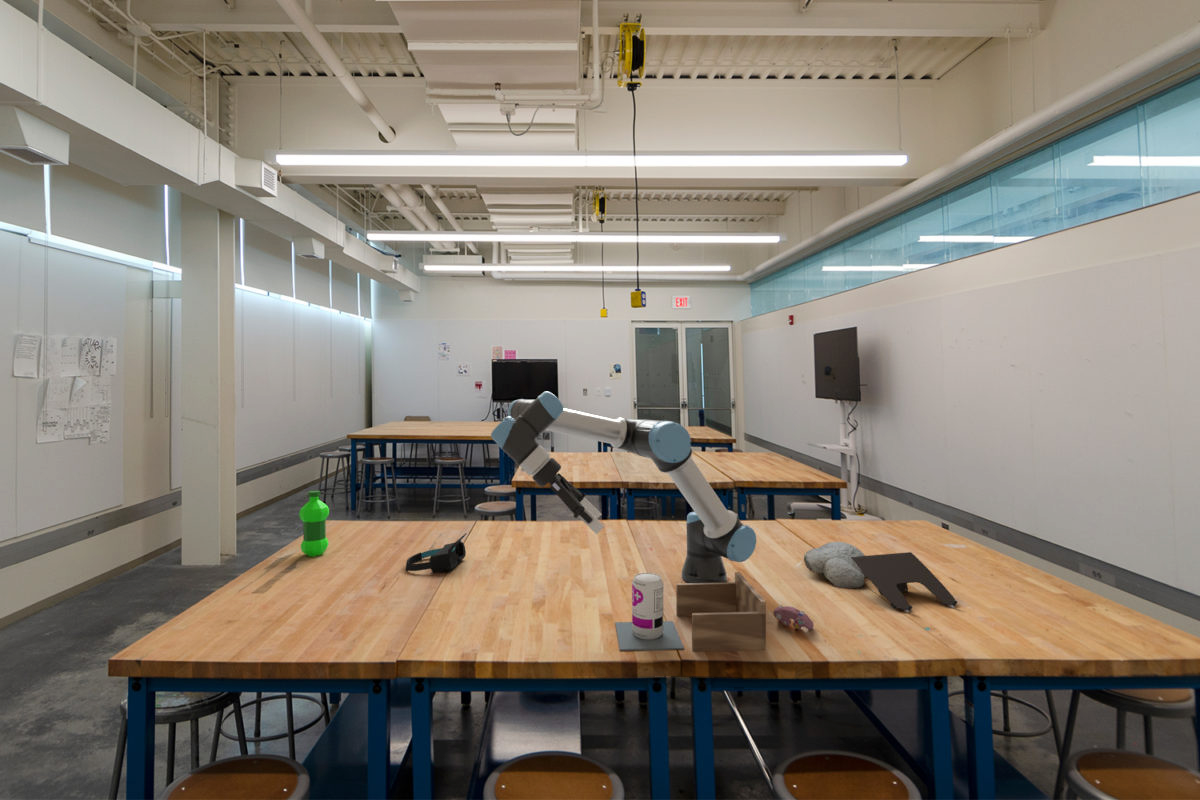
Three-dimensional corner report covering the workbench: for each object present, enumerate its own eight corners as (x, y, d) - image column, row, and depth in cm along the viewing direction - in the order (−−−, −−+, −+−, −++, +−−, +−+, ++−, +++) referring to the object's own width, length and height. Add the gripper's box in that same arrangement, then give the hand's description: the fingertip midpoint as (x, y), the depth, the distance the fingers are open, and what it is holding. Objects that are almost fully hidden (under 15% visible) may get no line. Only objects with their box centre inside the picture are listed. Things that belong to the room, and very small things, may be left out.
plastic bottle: (293, 557, 215) (293, 493, 214) (315, 549, 225) (314, 488, 225) (314, 559, 212) (313, 494, 212) (335, 551, 222) (334, 489, 222)
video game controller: (774, 628, 153) (769, 609, 151) (781, 616, 156) (776, 597, 154) (809, 639, 146) (804, 619, 144) (816, 626, 149) (811, 606, 147)
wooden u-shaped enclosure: (676, 614, 159) (676, 573, 158) (739, 613, 159) (739, 571, 159) (693, 651, 136) (693, 603, 136) (765, 649, 137) (765, 601, 137)
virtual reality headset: (458, 572, 194) (453, 544, 194) (398, 580, 196) (394, 553, 196) (474, 555, 213) (469, 530, 213) (419, 563, 214) (415, 538, 214)
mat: (615, 623, 153) (615, 622, 153) (672, 622, 153) (672, 620, 153) (619, 650, 137) (619, 649, 137) (684, 649, 137) (684, 647, 137)
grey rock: (861, 592, 176) (862, 564, 176) (794, 579, 188) (794, 552, 188) (875, 568, 200) (875, 543, 200) (814, 558, 212) (814, 534, 211)
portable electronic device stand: (890, 630, 161) (900, 608, 157) (844, 573, 181) (852, 551, 177) (955, 623, 167) (967, 601, 162) (903, 567, 187) (913, 547, 182)
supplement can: (638, 642, 140) (638, 583, 140) (627, 629, 148) (627, 573, 148) (668, 638, 142) (668, 580, 142) (656, 625, 150) (656, 570, 150)
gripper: (534, 470, 155) (587, 522, 156) (526, 485, 130) (590, 547, 131) (553, 451, 156) (606, 503, 156) (549, 462, 131) (612, 524, 132)
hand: (599, 523), depth 144 cm, fingers open, 13 cm apart
